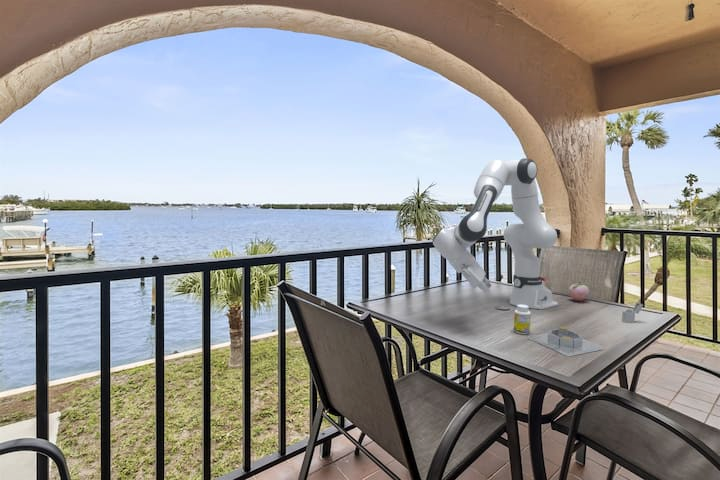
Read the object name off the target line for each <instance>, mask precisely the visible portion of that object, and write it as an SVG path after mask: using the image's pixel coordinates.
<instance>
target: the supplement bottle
mask: <svg viewBox="0 0 720 480" xmlns="http://www.w3.org/2000/svg"><path fill="white" fill-rule="evenodd" d="M529 309H530V308H529V307H528V306H527V305H517V306H516V309H515V310H514V313H513V314H514V318H513V331H514V332H515V333H517V334H519V335H528V334H530V332H531V311H530V310H529Z"/></svg>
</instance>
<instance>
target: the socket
mask: <svg viewBox="0 0 720 480" xmlns="http://www.w3.org/2000/svg"><path fill="white" fill-rule="evenodd" d="M527 338H528V340H530V341H532V342H534V343H537V344H539V345H541V346H544V347H546V348H547V349H550V350H553V351H556V352H557V353H559V354H562V355H564V356H566V357H568V358H569V357H575V356H578V355H583V354H588V353H592V352H596V351H602V350H604V346H602V345H600V344H598V343H595V342H592V341H589V340H587V339H584V338H583V336H582V333H578V332H576V331H573V330H569V329H568V327H563V326H562V327H561V326H559V328H553V329H547V332H544V333H538V334H533V335H528V336H527Z"/></svg>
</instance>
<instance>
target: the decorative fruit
mask: <svg viewBox="0 0 720 480" xmlns="http://www.w3.org/2000/svg"><path fill="white" fill-rule="evenodd" d="M568 294H569V296H570V298H572V299H574V300H575V301H576V302H581V301H583V300H585V299H586V298H588V297H589V294H590V289H589V287H588V285H587V284H586V283H584V282H580V281H578V283H574V284H572V285H570V286H569V288H568Z"/></svg>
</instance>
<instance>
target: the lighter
mask: <svg viewBox="0 0 720 480" xmlns="http://www.w3.org/2000/svg"><path fill="white" fill-rule="evenodd" d="M643 307H644V304H643V303H641V302H636V303H635V305H634V307H633V309H631V308H626V309H625V310H622V314H621V316H622V317H621V322H622V323H625V324H626V323H628V324H629V323H630V324H631V323H635V320H636V319H635V318H636V314H640V312H641V310H642V308H643Z"/></svg>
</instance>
